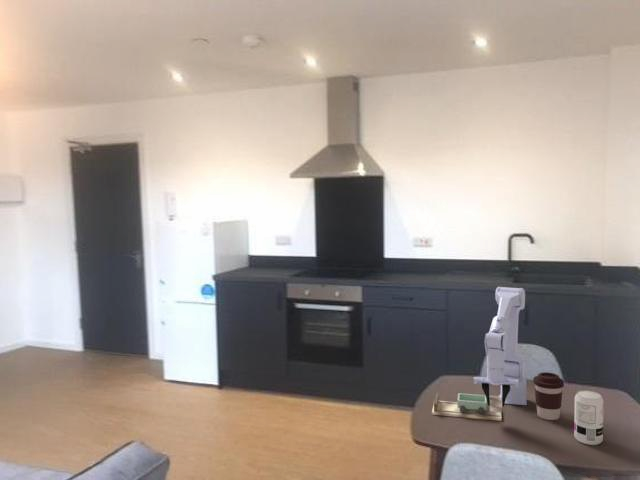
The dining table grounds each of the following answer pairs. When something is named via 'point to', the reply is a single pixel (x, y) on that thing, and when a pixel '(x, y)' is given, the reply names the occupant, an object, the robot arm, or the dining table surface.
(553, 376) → the coffee cup
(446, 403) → the track board
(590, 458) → the dining table surface
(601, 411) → the supplement can
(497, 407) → the block
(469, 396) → the cart
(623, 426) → the dining table surface
